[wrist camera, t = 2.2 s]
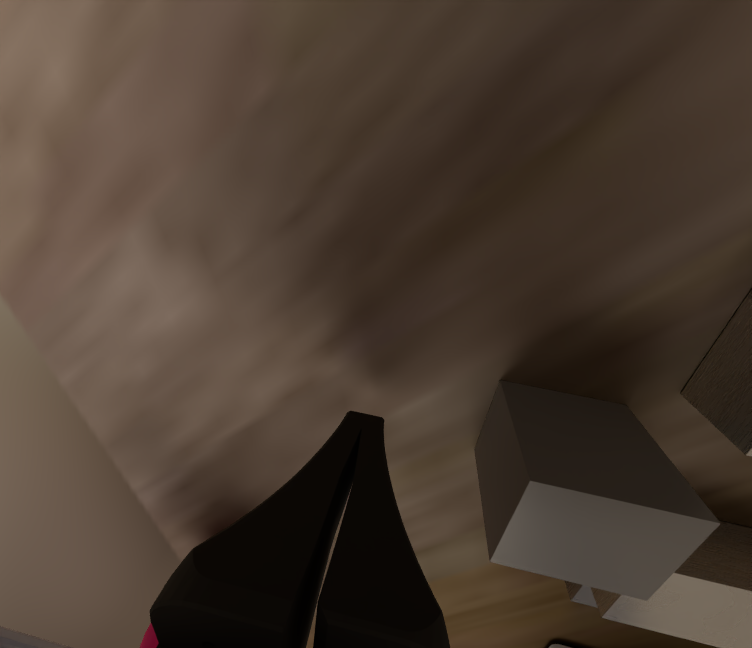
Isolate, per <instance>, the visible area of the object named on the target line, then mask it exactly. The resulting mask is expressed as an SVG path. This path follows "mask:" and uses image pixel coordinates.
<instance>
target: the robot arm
mask: <svg viewBox="0 0 752 648" xmlns="http://www.w3.org/2000/svg"><path fill="white" fill-rule="evenodd" d="M352 483H353V484H352ZM351 486H352V488H351ZM350 489H351V492H350ZM349 492H350V495H349ZM348 495H349V499H348V502H347V506H346V510H345V513H344V517H343V520H342V524H341V527H340V531H339V534H338V537H337V541H336V544H335V548H334V551H333V554H332V558H331V561H330V564H329V567H328V571H327V574H326V577H325V580H324V584H323V587H322V590H321V593H320V596H319V592H320V588H321V584H322V580H323V576H324V572H325V569H326V565H327V561H328V557H329V553H330V549H331V546H332V542H333V539H334V536H335V533H336V530H337V527H338V524H339V521H340V518H341V516H342V513H343V510H344V507H345V504H346V501H347V498H348ZM318 596H319V600H318ZM317 600H318V605H317V615H316V625H315V635H314V645H313V648H450V644H449V639H448V634H447V630H446V626H445V621H444V617H443V613H442V610H441V608H440V606H439V604H438V603H437V601H436V599H435V597H434V595H433V593H432V591H431V589H430V587H429V585H428V582H427V580H426V578H425V576H424V574H423V572H422V569H421V567H420V565H419V563H418V561H417V558H416V556H415V553H414V551H413V548H412V546H411V543H410V541H409V538H408V536H407V533H406V531H405V528H404V525H403V522H402V519H401V516H400V513H399V510H398V506H397V503H396V500H395V496H394V492H393V489H392V484H391V480H390V476H389V471H388V466H387V460H386V454H385V446H384V419H383V418H382V417H378V416H373V415H368V414H364V413H359V412H354V411H349V412H347V414H346V416H345V417H344V419H343V420H342V422H341V423H340V425H339V426H338V428H337V429H336V430H335V432H334V433H333V434H332V436H331V437H330V438H329V439H328V440H327V442H326V443H325V444H324V445H323V446H322V448H321V449H320V450H319V451H318V452H317V453H316V454H315V455H314V456H313V457H312V458H311V459H310V461H309V462H308V463H307V464H306V465H305V466H304V467H303V468H302V469H301V470H300V471H299V472H298V473H297V474H296V475H295V476H293V477H292V478H291V479H290V480H289V481H288V482H287V483H286V484H285V485H283V486H282V487H281V488H280V489H279V490H277V491H276V492H275V493H274V494H273V495H271V496H270V497H269V498H268V499H267V500H265V501H264V502H263V503H261V504H260V505H259V506H257V507H256V508H255V509H253V510H252V511H250V512H249V513H248V514H246V515H245V516H243V517H242V518H240V519H239V520H238V521H236V522H235V523H233V524H232V525H230V526H229V527H227V528H226V529H224V530H222V531H221V532H219V533H218V534H216V535H214V536H213V537H211V538H209V539H208V540H206V541H204V542H203V543H201V544H200V545H198V546H196V547H195V548H193V549H192V550H191V551H190V553H189V554H188V555H187V556H186V557H185V559H184V560H183V561H182V562H181V564H180V565H179V566H178V568H177V569H176V570H175V572H174V573H173V574H172V575H171V577H170V579H169V580H168V581H167V583H166V585H165V586H164V588H163V590H162V591H161V593H160V594H159V596H158V598H157V599H156V601H155V602H154V604H153V605H152V607H151V609H150V619H151V624H152V626H153V629H154V632H155V634H156V637H157V640H158V643H159V644H158V645H157V647H156V648H306V645H307V641H308V637H309V633H310V629H311V625H312V621H313V617H314V612H315V608H316V604H317ZM0 648H72V647H69V646H66V645H62V644H59V643H55V642H52V641H49V640H45V639H42V638H39V637H35V636H32V635H28V634H25V633H21V632H18V631H15V630H11V629H8V628H4V627H1V626H0ZM549 648H572V647H568V646H564V645H560V644H553V645H551V646H550V647H549Z"/></svg>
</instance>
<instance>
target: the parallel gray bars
mask: <svg viewBox="0 0 752 648" xmlns="http://www.w3.org/2000/svg"><path fill="white" fill-rule="evenodd" d="M681 395H682V396H683V397H684V398H685V399H686V400H687V401H688V402H690V403H691V404H692V405H693V406H694V407H695V408H696V409H697V410H698V411H699V412H700V413H701V414H702V415H703V416H705V417H706V418H707V419H708V420H709V421H710V422H711V423H712V424H713V425H714V426H715V427H716V428H717V429H718V430H719V431H721V432H722V433H723V434H724V435H725V436H726V437H727V438H728V439H729V440H730V441H731V442H732V443H733V444H734V445H736V446H737V447H738V448H739V449H740V450H741V451H742V452H743V453H744V454H745V455H748V456H752V290H751V291H750V293H749V294H748V295H747V297H746V298H745V300H744V301H743V303H742V304H741V306H740V307H739V309H738V310H737V312H736V313H735V315H734V316H733V317H732V319H731V320H730V322H729V323H728V325H727V326H726V328H725V329H724V331H723V332H722V334H721V335H720V336H719V338H718V339H717V341H716V342H715V344H714V345H713V347H712V348H711V350H710V351H709V353H708V354H707V355H706V357H705V358H704V360H703V361H702V363H701V364H700V366H699V367H698V369H697V370H696V372H695V373H694V375H693V376H692V377H691V379H690V380H689V382H688V383H687V385H686V386H685V388H684V389H683V391H682V392H681ZM719 522H720V523H721V524H720V525H719V526H718V527H717V528H716V529H715V530H714V531H713V532H712V533H711V534H710V535H709V536H708V537H707V539H706V540H705V541H704V542H703V543H702V544H701V545H700V546H699V547H698V548H697V549H696V550H695V551H694V552H693V553H692V554H691V555H690V556H689V557H688V558H687V559H686V561H685V562H684V563H683V564H682V565H681V566H680V567H679V568H678V569H677V570H676V571H675V572H674V573H673V574H672V575H671V576H670V577H669V578H668V579H667V580H666V581H665V582H664V584H663V585H662V586H661V587H660V588H659V589H658V590H657V591H656V592H655V593H654V594H653V595H652V596H651V597H650V598H649V599H648V600H647V601H646V600H642V599H638V598H633V597H629V596H625V595H621V594H617V593H613V592H609V591H605V590H601V589H597V588H593V587H589V586H585V585H581V584H577V583H573V582H569V581H565V583H566V587H567V590H568V593H569V596H570V600H571V601H573V602H577V603H581V604H585V605H589V606H593V607H597V608H598V610H599V612H600V615H601V618H605V619H609V620H613V621H616V622H620V623H624V624H628V625H632V626H636V627H640V628H644V629H648V630H652V631H656V632H660V633H664V634H668V635H672V636H676V637H680V638H684V639H688V640H692V641H695V642H699V643H703V644H707V645H711V646H715V647H719V648H752V528H749V527H745V526H740V525H736V524H731V523H727V522H722V521H719Z"/></svg>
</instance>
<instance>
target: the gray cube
mask: <svg viewBox="0 0 752 648" xmlns="http://www.w3.org/2000/svg"><path fill="white" fill-rule="evenodd" d="M474 450H475V457H476V464H477V472H478V479H479V486H480V494H481V501H482V508H483V516H484V523H485V530H486V538H487V545H488V552H489V560H490V562H493V563H497V564H501V565H505V566H509V567H513V568H517V569H521V570H525V571H529V572H533V573H537V574H541V575H545V576H549V577H553V578H557V579H561V580H565V581H569V582H573V583H577V584H581V585H585V586H589V587H593V588H597V589H601V590H605V591H609V592H613V593H617V594H621V595H625V596H629V597H633V598H638V599H642V600H646V601H647V600H648V599H649V598H650V597H651V596H652V595H653V594H654V593H655V592H656V591H657V590H658V589H659V588H660V587H661V586H662V585H663V584H664V582H665V581H666V580H667V579H668V578H669V577H670V576H671V575H672V574H673V573H674V572H675V571H676V570H677V569H678V568H679V567H680V566H681V565H682V564H683V563H684V562H685V561H686V559H687V558H688V557H689V556H690V555H691V554H692V553H693V552H694V551H695V550H696V549H697V548H698V547H699V546H700V545H701V544H702V543H703V542H704V541H705V540H706V539H707V537H708V536H709V535H710V534H711V533H712V532H713V531H714V530H715V529H716V528H717V527H718V526H719V525H720V524H721V523H720V522H719V521H718V520H717V518H716V517H715V516H714V514H713V513H712V512H711V511H710V509H709V508H708V507H707V506H706V504H705V503H704V502H703V501H702V499H701V498H700V497H699V496H698V494H697V493H696V492H695V491H694V489H693V488H692V487H691V486H690V484H689V483H688V482H687V481H686V479H685V478H684V477H683V476H682V474H681V473H680V472H679V471H678V469H677V468H676V467H675V466H674V464H673V463H672V462H671V461H670V459H669V458H668V457H667V456H666V454H665V453H664V452H663V451H662V449H661V448H660V447H659V446H658V444H657V443H656V442H655V441H654V439H653V438H652V437H651V436H650V434H649V433H648V432H647V430H646V429H645V428H644V427H643V425H642V424H641V423H640V422H639V420H638V419H637V418H636V417H635V415H634V414H633V413H632V412H631V410H630V409H629V408H628V407H627V405H623V404H618V403H613V402H608V401H603V400H598V399H593V398H588V397H583V396H578V395H573V394H568V393H563V392H558V391H553V390H548V389H543V388H538V387H533V386H528V385H523V384H518V383H513V382H508V381H503V380H500V381H499V384H498V387H497V389H496V392H495V395H494V397H493V400H492V403H491V406H490V408H489V411H488V414H487V417H486V419H485V422H484V425H483V427H482V430H481V433H480V436H479V438H478V441H477V444H476V447H475V449H474Z"/></svg>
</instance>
